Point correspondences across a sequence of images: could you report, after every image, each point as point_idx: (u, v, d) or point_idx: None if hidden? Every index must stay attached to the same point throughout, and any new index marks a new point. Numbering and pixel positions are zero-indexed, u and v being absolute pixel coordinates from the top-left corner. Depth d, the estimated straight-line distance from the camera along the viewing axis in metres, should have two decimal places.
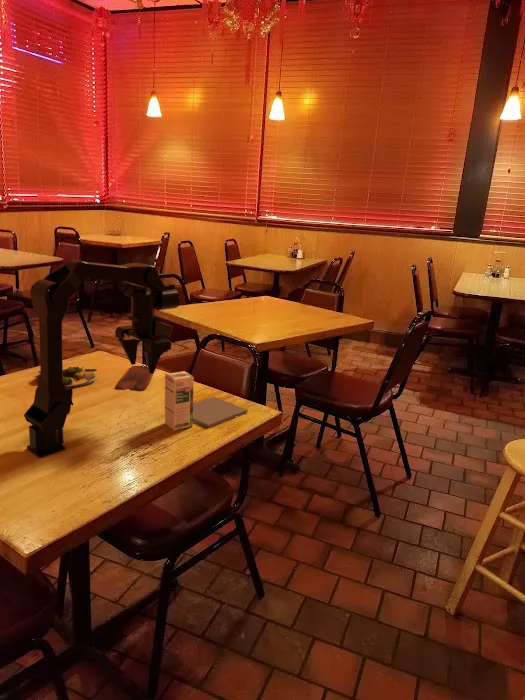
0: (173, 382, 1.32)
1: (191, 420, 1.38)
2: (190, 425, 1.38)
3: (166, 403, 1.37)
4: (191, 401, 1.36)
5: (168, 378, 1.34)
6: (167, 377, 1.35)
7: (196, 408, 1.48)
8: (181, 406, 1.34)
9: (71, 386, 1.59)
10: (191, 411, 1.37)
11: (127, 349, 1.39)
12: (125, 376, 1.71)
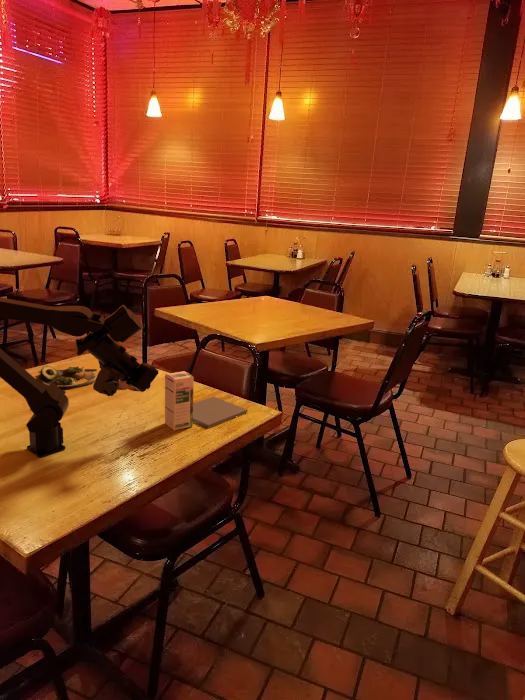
0: (174, 382, 1.32)
1: (191, 420, 1.38)
2: (190, 425, 1.38)
3: (166, 403, 1.37)
4: (191, 401, 1.36)
5: (168, 378, 1.34)
6: (167, 377, 1.35)
7: (196, 408, 1.48)
8: (181, 406, 1.34)
9: (71, 386, 1.59)
10: (191, 411, 1.37)
11: None
12: None
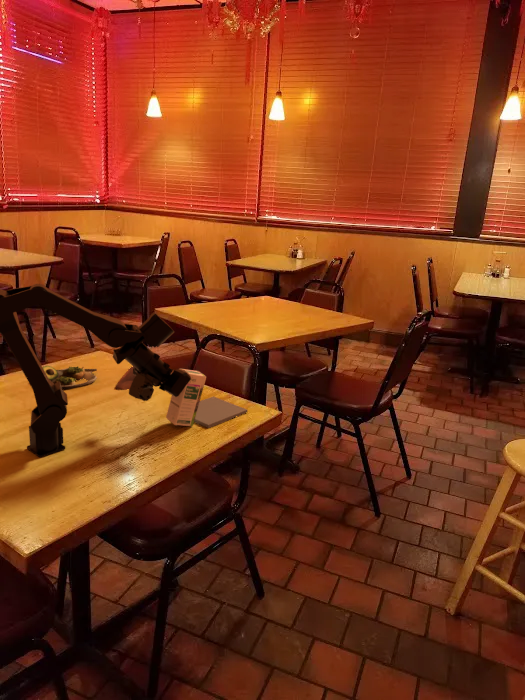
0: None
1: (193, 419, 1.38)
2: (191, 424, 1.38)
3: (173, 397, 1.38)
4: (198, 400, 1.37)
5: None
6: None
7: None
8: (188, 402, 1.35)
9: (71, 386, 1.59)
10: (195, 410, 1.38)
11: None
12: (125, 376, 1.71)
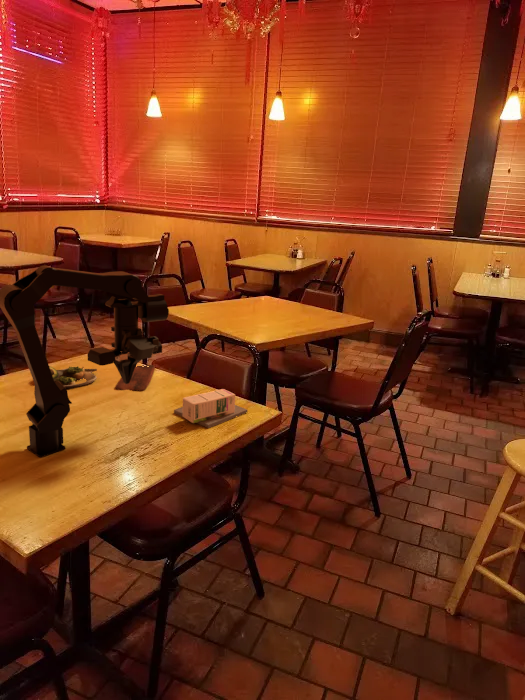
0: (232, 394, 1.45)
1: (198, 420, 1.39)
2: (194, 420, 1.38)
3: (203, 394, 1.44)
4: (215, 416, 1.42)
5: (227, 391, 1.47)
6: (225, 390, 1.48)
7: None
8: (213, 406, 1.41)
9: (71, 386, 1.59)
10: (207, 418, 1.41)
11: None
12: None
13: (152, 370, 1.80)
